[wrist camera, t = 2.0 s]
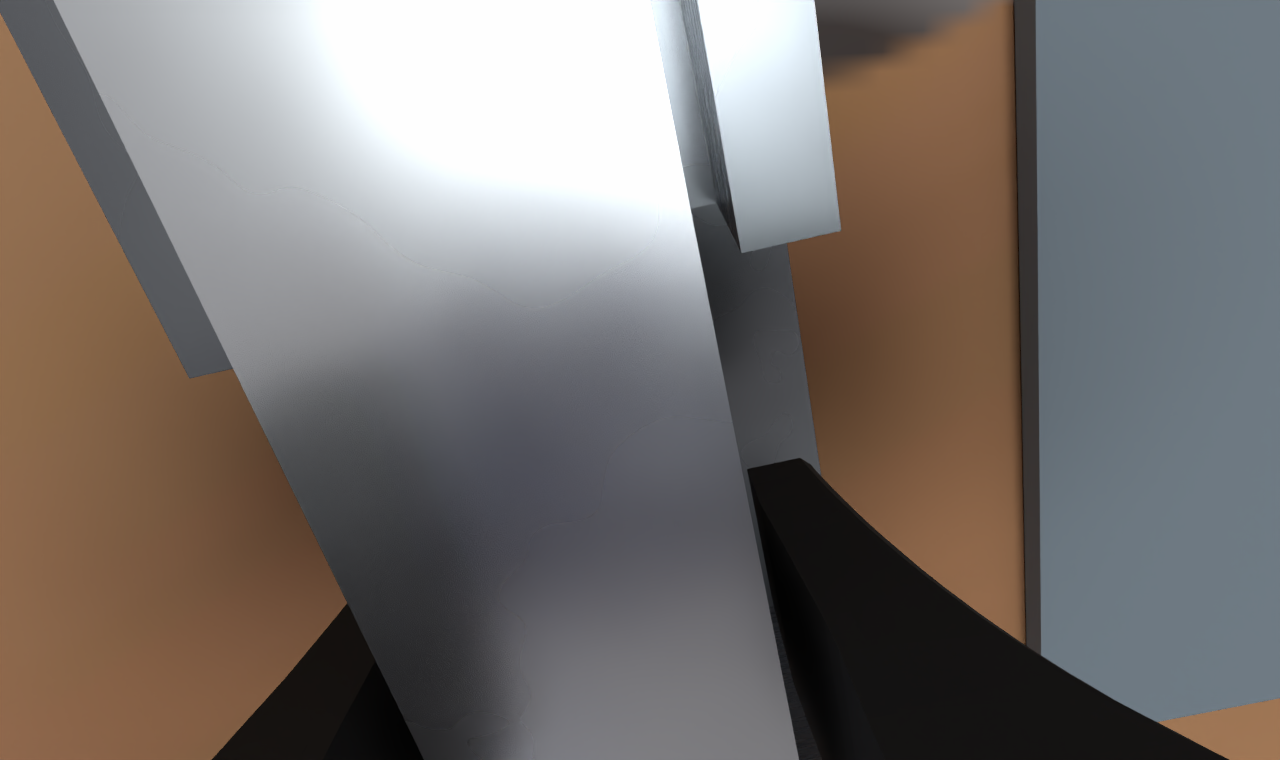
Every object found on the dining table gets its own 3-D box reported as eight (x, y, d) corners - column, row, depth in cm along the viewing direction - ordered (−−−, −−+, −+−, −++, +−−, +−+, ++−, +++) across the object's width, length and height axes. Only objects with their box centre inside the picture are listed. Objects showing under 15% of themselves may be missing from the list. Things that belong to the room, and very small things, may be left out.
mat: (1383, 649, 17) (1409, 672, 16) (1028, 719, 17) (1041, 743, 17) (1682, -620, 9) (1752, -657, 8) (1005, -441, 9) (1031, -465, 9)
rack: (850, 719, 17) (956, 1031, 12) (556, 777, 17) (543, 1105, 12) (702, -247, 10) (816, -437, 5) (205, -119, 10) (-151, -179, 5)
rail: (825, 941, 14) (883, 1185, 11) (638, 975, 14) (650, 1225, 11) (568, -305, 6) (554, -482, 4) (184, -203, 7) (-95, -306, 4)
